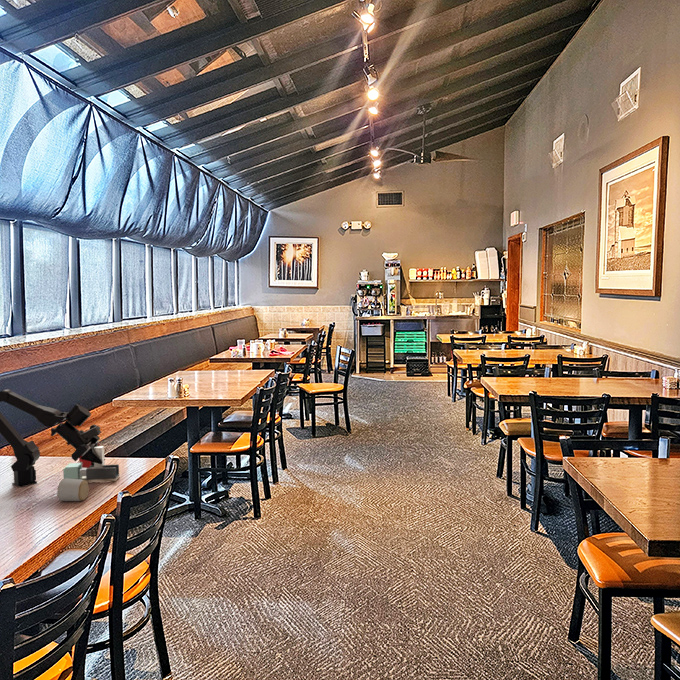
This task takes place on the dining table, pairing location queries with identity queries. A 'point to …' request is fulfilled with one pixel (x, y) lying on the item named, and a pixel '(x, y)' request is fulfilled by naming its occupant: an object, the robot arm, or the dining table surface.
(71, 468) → the socket
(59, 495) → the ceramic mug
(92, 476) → the sleeve
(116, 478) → the base board
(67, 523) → the dining table surface
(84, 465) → the canned food
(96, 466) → the light grey l-shaped piece
